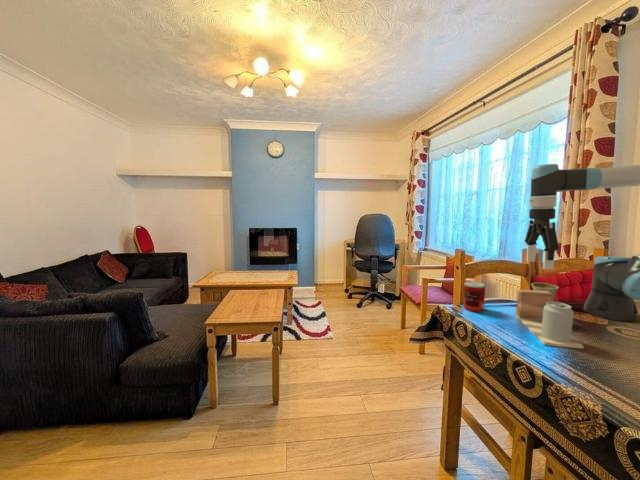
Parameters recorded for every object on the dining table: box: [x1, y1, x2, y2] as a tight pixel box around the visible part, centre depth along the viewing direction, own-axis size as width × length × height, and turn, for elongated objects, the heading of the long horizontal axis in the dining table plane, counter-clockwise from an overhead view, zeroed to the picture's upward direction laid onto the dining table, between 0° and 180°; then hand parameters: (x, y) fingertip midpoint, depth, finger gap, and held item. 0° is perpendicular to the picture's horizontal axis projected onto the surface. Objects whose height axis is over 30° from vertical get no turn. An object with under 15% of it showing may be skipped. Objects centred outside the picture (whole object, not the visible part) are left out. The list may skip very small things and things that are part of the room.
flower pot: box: [530, 282, 560, 302], centre depth 124 cm, size 9×9×9 cm
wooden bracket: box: [515, 289, 584, 350], centre depth 100 cm, size 24×10×11 cm, turn 164°
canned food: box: [463, 281, 486, 313], centre depth 121 cm, size 8×8×11 cm
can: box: [541, 301, 575, 342], centre depth 93 cm, size 8×8×12 cm
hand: (539, 265), depth 107 cm, fingers open, 13 cm apart
